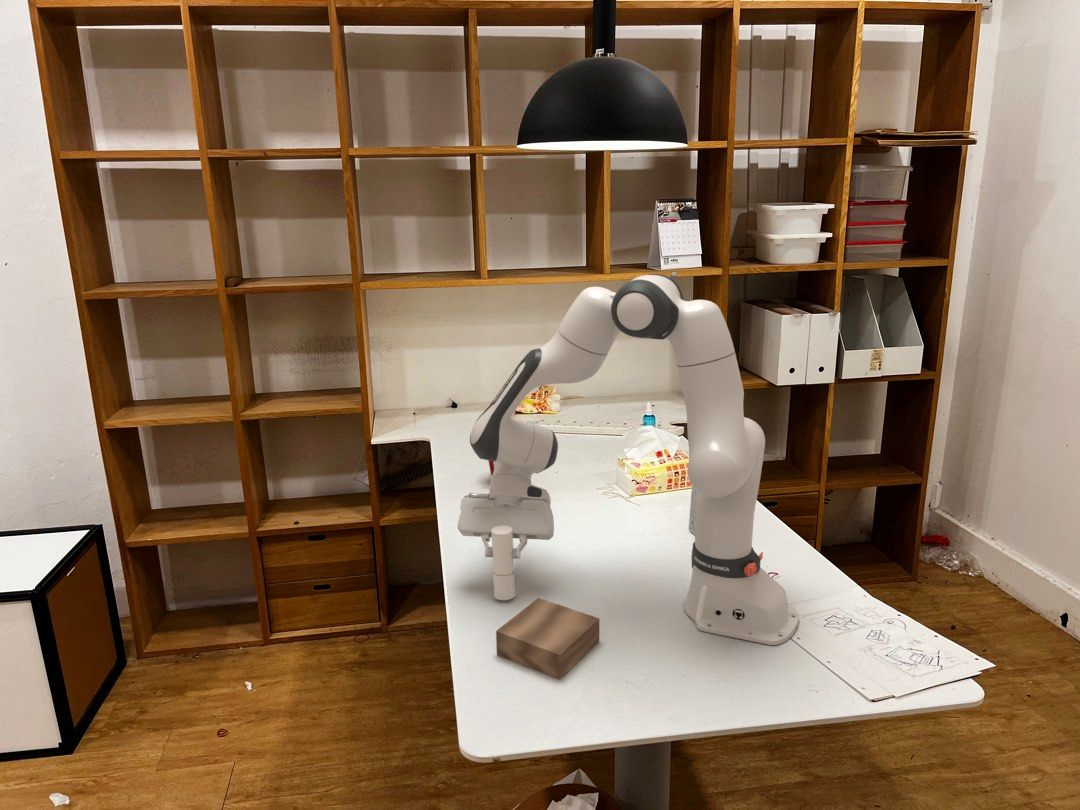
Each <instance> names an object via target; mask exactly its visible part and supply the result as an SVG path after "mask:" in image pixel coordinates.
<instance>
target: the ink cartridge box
mask: <svg viewBox="0 0 1080 810" xmlns="http://www.w3.org/2000/svg"><path fill="white" fill-rule="evenodd" d="M700 494H701V493H699V492H698V491H697V490H696V489H695V488H694V487H693V485H692V484H691V495H690V507H689V508H690V509H689V520H688V530H689V531H690V532H691V533H692V534H693V535H694V536H695V531H696V509H697V504H698V501H699V498H700Z"/></svg>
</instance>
